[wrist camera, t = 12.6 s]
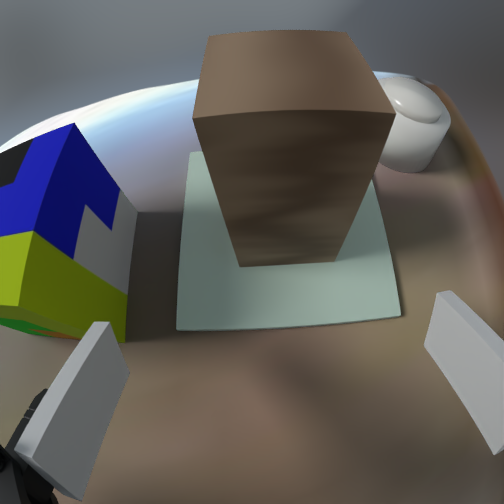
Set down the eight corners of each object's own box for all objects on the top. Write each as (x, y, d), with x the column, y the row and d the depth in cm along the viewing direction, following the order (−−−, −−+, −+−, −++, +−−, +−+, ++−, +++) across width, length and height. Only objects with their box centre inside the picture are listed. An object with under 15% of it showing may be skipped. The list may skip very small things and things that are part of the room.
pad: (179, 330, 18) (176, 329, 17) (192, 157, 23) (190, 152, 23) (397, 317, 17) (401, 315, 16) (358, 148, 23) (360, 144, 22)
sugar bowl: (371, 172, 22) (391, 120, 16) (351, 115, 24) (361, 66, 19) (440, 175, 21) (467, 130, 16) (414, 120, 24) (431, 77, 19)
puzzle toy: (138, 212, 22) (74, 122, 13) (125, 343, 18) (18, 306, 9) (47, 226, 22) (-21, 164, 13) (29, 333, 18) (-64, 298, 9)
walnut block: (239, 267, 19) (192, 118, 8) (238, 188, 21) (208, 36, 10) (334, 261, 18) (396, 113, 7) (321, 184, 21) (346, 32, 10)
